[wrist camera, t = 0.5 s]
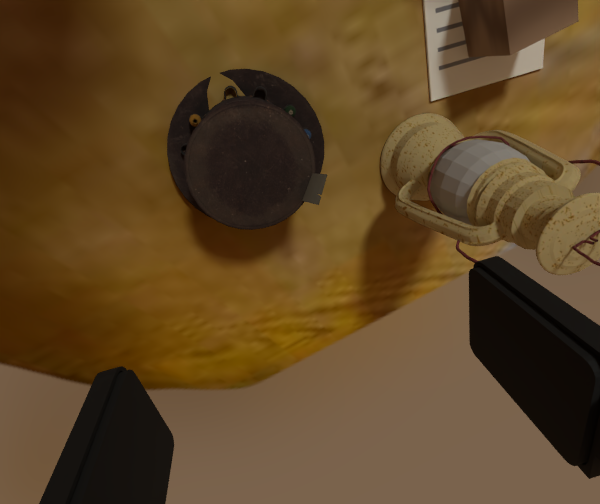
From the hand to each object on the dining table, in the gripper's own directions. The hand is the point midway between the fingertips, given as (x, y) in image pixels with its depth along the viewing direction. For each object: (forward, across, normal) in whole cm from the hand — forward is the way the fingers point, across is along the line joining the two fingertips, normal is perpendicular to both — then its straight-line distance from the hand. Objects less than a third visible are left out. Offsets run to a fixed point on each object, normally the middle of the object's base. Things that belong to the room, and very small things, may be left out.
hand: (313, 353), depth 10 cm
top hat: (+30, +1, 0) cm, 30 cm away
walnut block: (+29, -25, -7) cm, 39 cm away
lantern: (+30, -17, +6) cm, 35 cm away
